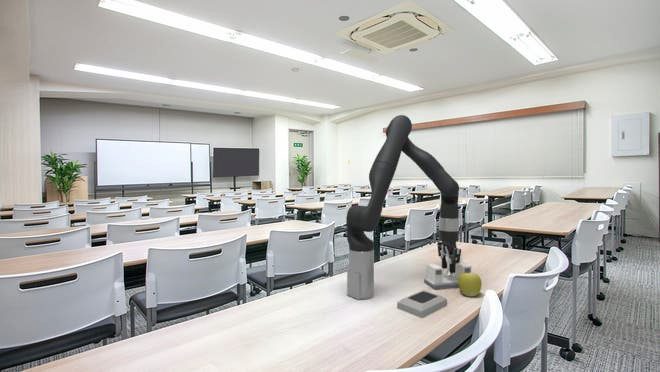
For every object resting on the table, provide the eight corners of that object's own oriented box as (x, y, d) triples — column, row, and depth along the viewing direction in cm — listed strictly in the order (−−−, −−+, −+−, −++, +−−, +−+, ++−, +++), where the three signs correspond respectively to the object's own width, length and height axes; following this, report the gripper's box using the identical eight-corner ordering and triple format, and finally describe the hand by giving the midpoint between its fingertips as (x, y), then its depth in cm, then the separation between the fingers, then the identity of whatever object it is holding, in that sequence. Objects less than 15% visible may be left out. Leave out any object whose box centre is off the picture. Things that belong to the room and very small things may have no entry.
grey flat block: (397, 298, 108) (423, 287, 117) (397, 309, 108) (422, 297, 118) (421, 307, 100) (447, 295, 110) (421, 319, 101) (446, 306, 110)
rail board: (434, 289, 124) (434, 284, 124) (424, 282, 132) (424, 277, 132) (473, 286, 127) (473, 281, 127) (461, 279, 135) (461, 274, 135)
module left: (434, 284, 125) (434, 268, 124) (426, 278, 131) (426, 263, 131) (442, 283, 125) (443, 268, 125) (434, 277, 132) (434, 263, 132)
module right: (463, 281, 127) (463, 266, 127) (454, 276, 134) (454, 262, 133) (471, 281, 128) (471, 266, 127) (461, 275, 134) (461, 261, 134)
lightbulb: (443, 273, 134) (449, 248, 134) (459, 279, 130) (465, 252, 130) (438, 274, 129) (445, 247, 129) (454, 279, 125) (461, 252, 125)
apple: (483, 298, 113) (474, 270, 114) (460, 300, 117) (452, 273, 119) (486, 291, 120) (478, 264, 121) (464, 293, 124) (457, 267, 125)
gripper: (468, 231, 122) (467, 275, 123) (447, 225, 136) (447, 264, 137) (450, 232, 121) (449, 276, 122) (431, 226, 135) (430, 265, 136)
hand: (448, 270), depth 129 cm, fingers closed on lightbulb, 5 cm apart
